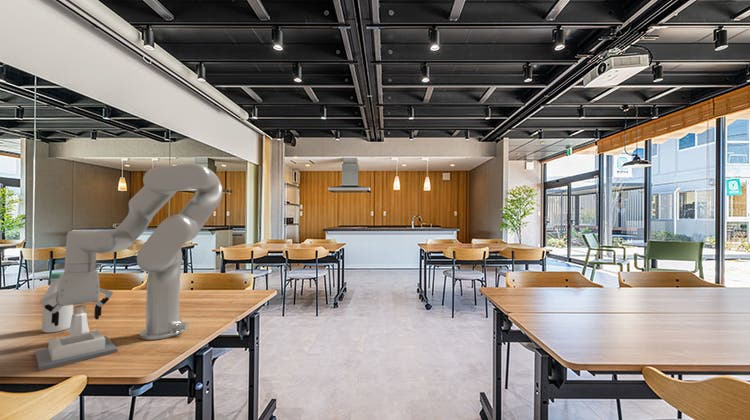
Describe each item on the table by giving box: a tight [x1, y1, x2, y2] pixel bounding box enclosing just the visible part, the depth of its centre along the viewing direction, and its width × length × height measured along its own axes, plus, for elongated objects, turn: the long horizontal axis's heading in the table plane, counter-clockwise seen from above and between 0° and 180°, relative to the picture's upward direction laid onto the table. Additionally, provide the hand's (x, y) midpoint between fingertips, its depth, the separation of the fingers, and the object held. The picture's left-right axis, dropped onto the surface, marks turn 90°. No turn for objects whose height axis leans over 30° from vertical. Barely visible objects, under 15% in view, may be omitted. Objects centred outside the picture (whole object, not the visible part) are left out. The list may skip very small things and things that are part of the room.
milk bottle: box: [41, 271, 74, 333], centre depth 115 cm, size 8×8×20 cm
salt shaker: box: [68, 304, 90, 336], centre depth 104 cm, size 5×5×11 cm
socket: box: [34, 329, 119, 372], centre depth 94 cm, size 16×16×4 cm
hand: (76, 321), depth 104 cm, fingers open, 9 cm apart
